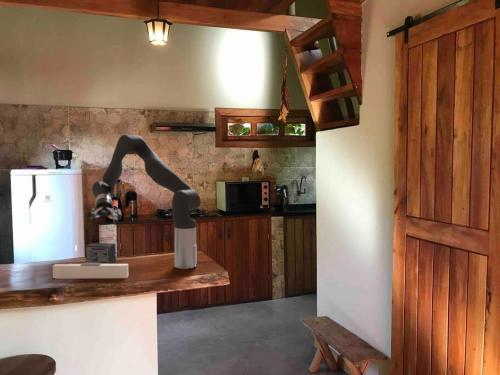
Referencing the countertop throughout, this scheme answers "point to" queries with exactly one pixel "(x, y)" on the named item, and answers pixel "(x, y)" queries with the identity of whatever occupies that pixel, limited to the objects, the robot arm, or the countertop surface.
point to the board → (90, 270)
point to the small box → (101, 253)
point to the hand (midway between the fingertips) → (104, 221)
